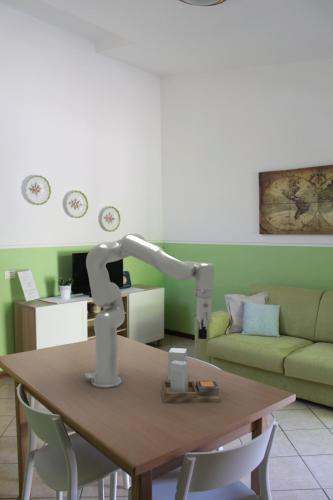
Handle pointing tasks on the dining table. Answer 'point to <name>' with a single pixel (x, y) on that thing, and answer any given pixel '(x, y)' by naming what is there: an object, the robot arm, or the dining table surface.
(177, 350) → the supplement box
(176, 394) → the tray
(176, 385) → the skincare box
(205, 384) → the button
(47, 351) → the dining table surface
